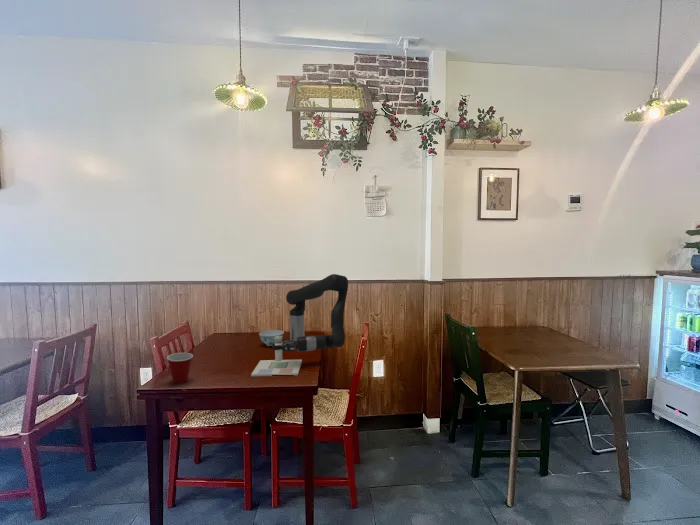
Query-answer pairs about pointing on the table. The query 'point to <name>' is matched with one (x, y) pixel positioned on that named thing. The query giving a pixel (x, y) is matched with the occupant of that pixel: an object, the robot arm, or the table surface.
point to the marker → (278, 352)
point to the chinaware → (270, 336)
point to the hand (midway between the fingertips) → (272, 346)
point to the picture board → (277, 367)
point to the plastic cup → (179, 366)
